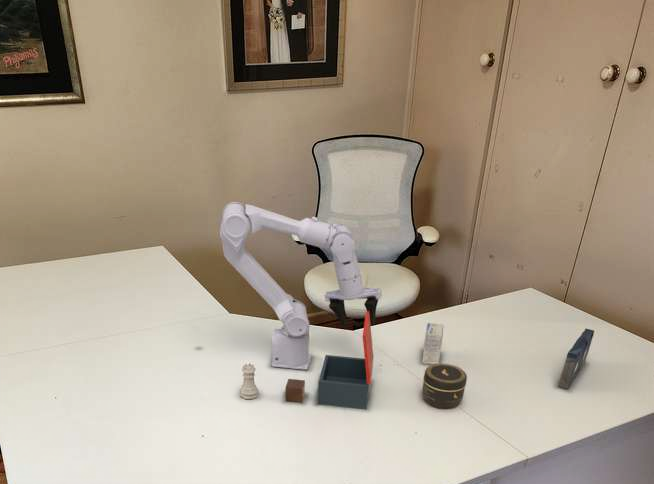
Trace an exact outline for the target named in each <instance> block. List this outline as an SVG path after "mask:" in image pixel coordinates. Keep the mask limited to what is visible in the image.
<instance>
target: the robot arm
mask: <svg viewBox="0 0 654 484" xmlns="http://www.w3.org/2000/svg"><path fill="white" fill-rule="evenodd" d="M263 229H267V230H271V231H274V232H275V231H276V232H280V233H284V234H289V235H293V236H296V237H297V238H298V241H299V242H300V243H302V244H306V245H310V246H313V247H317V248H320V249H325V250H330V251H331V252H332V256H333V265H334V270H335V274H336V280H337V284H338V287H339V288H338V289H336V290H331V291H326V292H325V294H324V300H325V302H326V303H329V305H328V308H329V309H330V310H331V311H332V312H333V314H335V315H336V318H338V320H339V322H340V323H341V326H342V327H346V326H347V324H348V322H349V321H348V316H347V313H346V306H345V301H352V300H363V299H364V300H365V299H366V300H365V302H364V304H363V305H364V308H365V309H366V311H369V315H370V326H372V327H373V326H374V325H375V323H376V313H377V307H378V302H379V300H380V299H381V298H382V296H383V294H382V293H383V292H382V288H373V287H367V286H366V287H365V286H363V282H362V276H361V273H360V265H359V262H358V257H357V255H356V240H355V239H354V237H353V235H352V232H351V231H350V229H349V228H348V227H347V226H346V225H343V224H342V223H334V222H333V223H331V224H330V223H327V222H323V221H320V220H318V217H316V216H311V218H310V217H305V218H303V219H301V220H297V219H294V218H291V217H289V216H286V215H282V214H279V213H276V212H272V211H270V210H267V209H264V208H261V207H258V206H256V205H252V204H247V203H245V204H243V203H242V202H239V201H233V202H230V203H227V204H226V205H225V206H224V208H223V209H222V213H221V220H220V230H219V235H220V241H221V246H222V252H223V256H224V258H225V259H226V260H227V262H228V263H229V264H230V265H231V266H232V267H233V268H234V269H235V270H236V271H237V272H238V273H239V274H240V275H241V276H242V277H243V279H244V280H245V281H247V283H248V284H249V285H250V286H251V287H252V288H253V290H255V292H257V294H258V295H260V297H261V298H262V299H263V300H264V301H265V302H266V303H267V304H268V305H269V306H270V307H271V308H272V309H273V310H274V312H275V314H276V316H277V318H278V320H279V321H280V322H281V323H282V324H283V325H282V327H281V328H274V330H273V333H272V340H271V367H273V368H282V369H283V368H284V369H294V370H303V371H307V370H308V369H309V366H310V364H311V363H310V362H311V359H312V355H311V354H309V351H310V350H309V347H310V346H309V345H310V326H311V325H310V321H309V319H308V313H307V307H306V305H305V304H304V303H303V302H302V301H299V300H297V299H295V298H294V297H293V296H292V295H291V294H289V293H287V292H285V290H284V289H283V288H282V287H281V286H280V285H279V284H278V283H277V281H276V280H275V279H274V278H273V277H272V276H271V275H270V274H269V273H268V272H267V271H266V270H265V268H264V267H263V266H262V265H261V264H260V263H259V262H258V261H257V260H256V258H254V256H253V255H252V254H251V253H250V251H248V250H247V249H246V248H245V246H246V245H245V244H246V238H247V237H248V235H249V234H248V233H249V232H250V230H251V234H255V233H257V232H260V230H263Z"/></svg>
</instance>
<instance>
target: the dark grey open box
mask: <svg viewBox="0 0 654 484" xmlns="http://www.w3.org/2000/svg"><path fill="white" fill-rule="evenodd" d="M317 386H318V387H317V405H321V406H330V407H340V408H341V407H342V408H351V409H359V410H367V408H368V399H369V390H370V385H367V376H366V366H365V358H364V357H353V356H352V357H351V356H342V355H333V354H332V355H331V354H325V355H324V360H323V363H322V367H321V371H320V374H319V378H318V385H317Z"/></svg>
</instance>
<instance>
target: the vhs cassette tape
mask: <svg viewBox="0 0 654 484" xmlns="http://www.w3.org/2000/svg"><path fill="white" fill-rule="evenodd" d="M594 335H595V330H594V329H590V328H585V329H584V331H583V332H582V333H581V335H580V336H579V337H578V338H577V339H576V341H575V343H574V344H573V345H572V347H571V348H570V349H569V351H567V353H566V358H565V361H564V365H563V368H562V372H561V376H560V379H559V383H558V388H560V389H564V390H569V389H570V387H571V386H572V384H573V383H574V381H575V379H576V378H577V376H578V375H579V373H580V371H582V368H583V367H584V366H585V364H586V362H587V361H586V360H587V358H588V357H587V356H588V355H589V350H590V349H591V348H590V347H591V344H592V342H593V341H592V340H593V339H594Z"/></svg>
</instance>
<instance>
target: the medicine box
mask: <svg viewBox="0 0 654 484" xmlns="http://www.w3.org/2000/svg"><path fill="white" fill-rule="evenodd" d="M425 329H426V330H425V336H424V344H423V352H422V360H421V363H422V364H425V365H434V364H440V359H441V357H440V356H441V352H442V351H441V350H442V344H443V337H444V324H442V323H434V322H427V323H426V328H425Z"/></svg>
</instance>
